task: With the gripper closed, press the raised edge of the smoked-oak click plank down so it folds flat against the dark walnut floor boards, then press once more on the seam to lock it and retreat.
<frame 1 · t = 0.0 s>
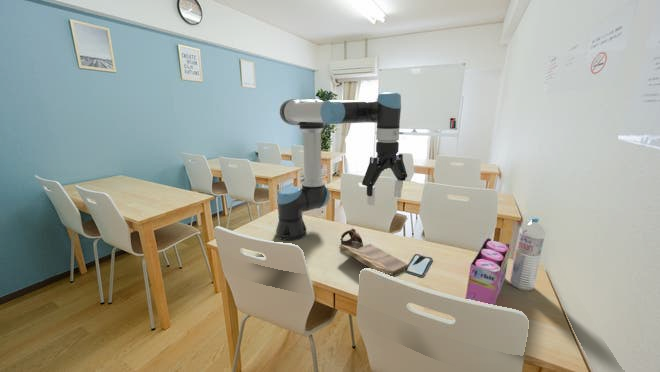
hand: (384, 200, 97), 28 cm above the table, fingers open, 13 cm apart
floor boards: (380, 259, 111), on the table
plank: (365, 258, 105), point 3 cm above the table, hinge at 30.0°, touching floor boards
smartphone: (418, 266, 107), on the table
water bottle: (521, 285, 94), on the table
pottery mug: (352, 245, 124), on the table
gum box: (486, 289, 92), on the table
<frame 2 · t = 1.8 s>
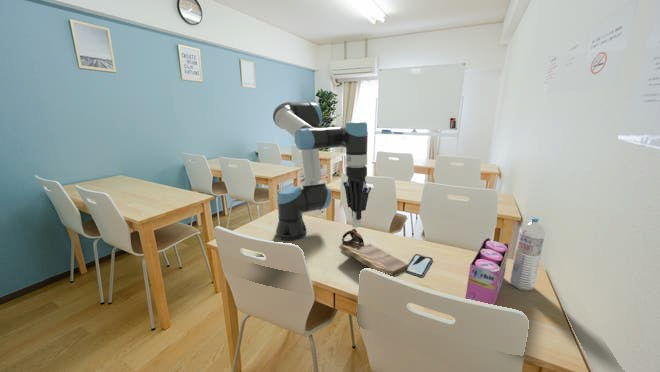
hand: (356, 226, 103), 17 cm above the table, fingers closed
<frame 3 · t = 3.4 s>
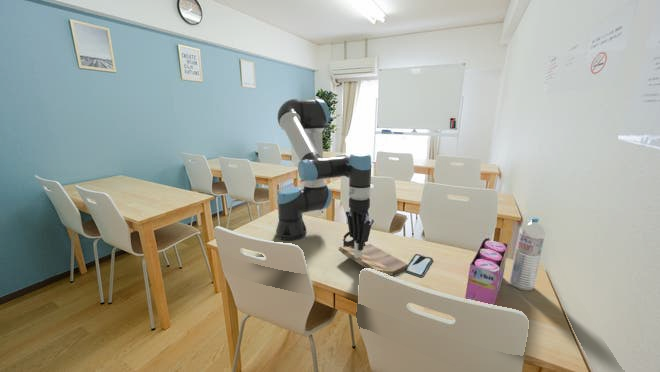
hand: (358, 256, 102), 6 cm above the table, fingers closed
plank: (364, 260, 105), point 3 cm above the table, hinge at 24.4°, touching floor boards, gripper
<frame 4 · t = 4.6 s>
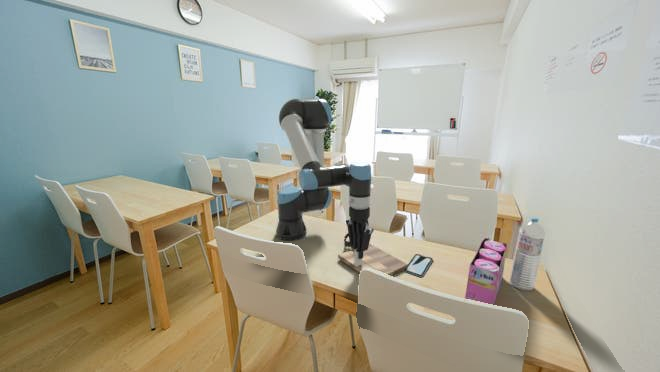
hand: (358, 264, 103), 3 cm above the table, fingers closed
plank: (364, 264, 105), point 1 cm above the table, hinge at 5.1°, touching floor boards, gripper
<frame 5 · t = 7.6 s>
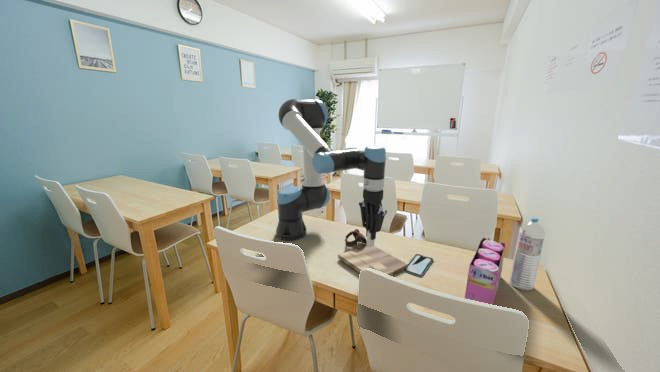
hand: (370, 245, 106), 8 cm above the table, fingers closed
plank: (364, 264, 105), point 1 cm above the table, hinge at 5.1°, touching floor boards
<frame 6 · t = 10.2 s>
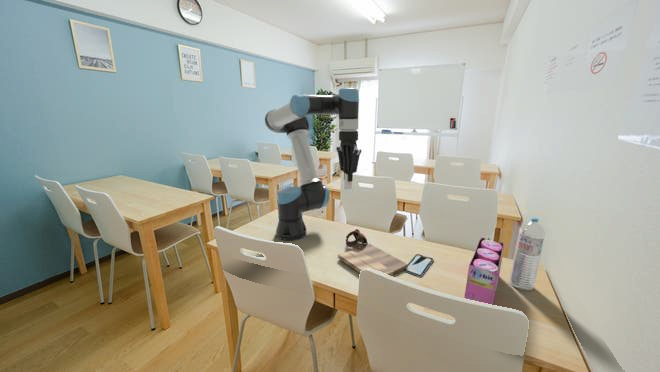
hand: (348, 188, 111), 28 cm above the table, fingers closed
pottery mug: (357, 245, 123), on the table, touching floor boards
at the end: plank at +5° (first picture: +30°); the gripper is holding nothing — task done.
